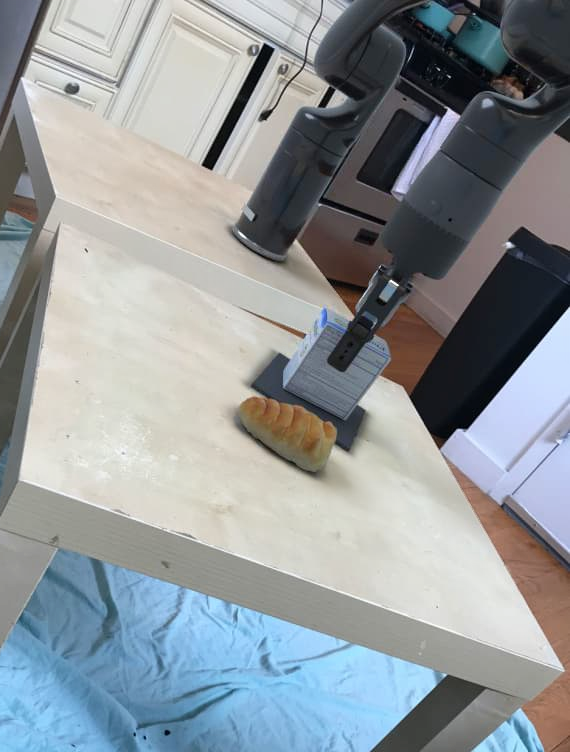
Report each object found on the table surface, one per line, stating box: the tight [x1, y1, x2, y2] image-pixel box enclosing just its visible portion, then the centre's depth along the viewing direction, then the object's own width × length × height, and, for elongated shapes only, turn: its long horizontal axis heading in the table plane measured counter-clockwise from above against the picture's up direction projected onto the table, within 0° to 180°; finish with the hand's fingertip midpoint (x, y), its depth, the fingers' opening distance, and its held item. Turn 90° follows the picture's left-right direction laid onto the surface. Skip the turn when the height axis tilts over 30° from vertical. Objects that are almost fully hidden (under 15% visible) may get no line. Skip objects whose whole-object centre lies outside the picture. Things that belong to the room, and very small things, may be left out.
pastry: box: [237, 396, 337, 473], centre depth 69 cm, size 9×7×4 cm
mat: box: [250, 352, 367, 452], centre depth 81 cm, size 12×12×1 cm
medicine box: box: [283, 307, 392, 420], centre depth 78 cm, size 8×4×9 cm, turn 84°
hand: (341, 355), depth 78 cm, fingers open, 8 cm apart
